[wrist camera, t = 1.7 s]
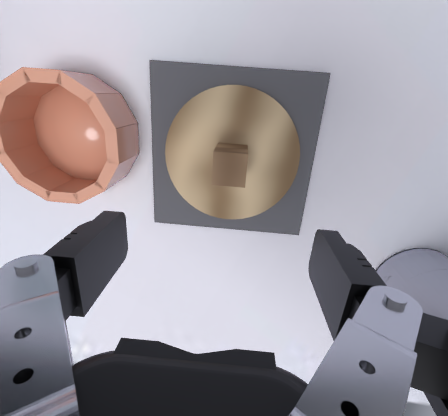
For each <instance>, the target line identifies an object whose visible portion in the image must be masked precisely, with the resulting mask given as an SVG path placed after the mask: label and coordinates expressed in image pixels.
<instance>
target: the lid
mask: <svg viewBox="0 0 448 416" xmlns="http://www.w3.org/2000/svg"><path fill="white" fill-rule="evenodd" d="M165 157H166V165H167V170H168V173H169V175H170V178H171V180H172V182H173V184H174V186H175V188H176V189H177V191H178V192H179V193H180V195H181V196H182V197H183V198H184V199H185V200H186V201H187V202H188V203H189V204H190V205H192V206H193V207H195V208H196V209H198V210H199V211H201V212H203V213H205V214H208V215H210V216H213V217H217V218H222V219H244V218H248V217H252V216H255V215H258V214H260V213H262V212H264V211H266V210H268V209H269V208H271V207H272V206H274V205H275V204H276V203H277V202H279V201H280V200H281V198H282V197H283V196H284V195H285V194H286V193H287V191H288V190H289V188H290V187H291V185H292V183H293V181H294V179H295V176H296V174H297V171H298V166H299V160H300V144H299V138H298V134H297V131H296V128H295V125H294V123H293V121H292V119H291V118H290V116H289V115H288V113H287V112H286V110H285V109H284V108H283V107H282V106H281V105H280V104H279V103H278V102H277V101H276V100H275V99H274V98H272V97H271V96H269V95H267V94H266V93H264V92H262V91H260V90H257V89H255V88H251V87H248V86H242V85H223V86H217V87H214V88H210V89H208V90H205V91H203V92H201V93H199V94H198V95H196V96H195V97H193V98H192V99H190V100H189V101H188V102H187V103H186V104H185V105H184V106H183V107H182V108H181V109H180V110H179V112H178V113H177V115H176V116H175V118H174V120H173V122H172V124H171V126H170V128H169V131H168V135H167V139H166V146H165Z"/></svg>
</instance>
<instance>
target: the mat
mask: <svg viewBox="0 0 448 416" xmlns="http://www.w3.org/2000/svg"><path fill="white" fill-rule="evenodd" d="M329 78H330V73H322V72H308V71H294V70H280V69H266V68H252V67H238V66H225V65H211V64H197V63H183V62H169V61H155V60H150V91H151V123H152V155H153V187H154V220H155V222H159V223H170V224H181V225H192V226H203V227H215V228H226V229H237V230H248V231H260V232H271V233H282V234H293V235H299V231H300V226H301V221H302V216H303V211H304V206H305V201H306V196H307V190H308V185H309V180H310V175H311V170H312V165H313V160H314V155H315V150H316V145H317V139H318V134H319V129H320V124H321V119H322V114H323V109H324V104H325V99H326V94H327V89H328V83H329ZM223 85H242V86H248V87H251V88H255V89H257V90H260V91H262V92H264V93H266V94H267V95H269V96H271V97H272V98H274V99H275V100H276V101H277V102H278V103H279V104H280V105H281V106H282V107H283V108H284V109H285V110H286V112H287V113H288V115H289V116H290V118H291V119H292V121H293V123H294V125H295V128H296V131H297V134H298V138H299V144H300V160H299V166H298V171H297V174H296V176H295V179H294V181H293V183H292V185H291V187H290V188H289V190H288V191H287V193H286V194H285V195H284V196H283V197H282V198H281V200H280V201H279V202H277V203H276V204H275V205H274V206H272V207H271V208H269V209H268V210H266V211H264V212H262V213H260V214H258V215H255V216H252V217H248V218H244V219H222V218H217V217H213V216H210V215H208V214H205V213H203V212H201V211H199V210H198V209H196V208H195V207H193V206H192V205H190V204H189V203H188V202H187V201H186V200H185V199H184V198H183V197H182V196H181V195H180V193H179V192H178V191H177V189H176V188H175V186H174V184H173V182H172V180H171V178H170V175H169V173H168V170H167V165H166V157H165V146H166V139H167V135H168V131H169V128H170V126H171V124H172V122H173V120H174V118H175V116H176V115H177V113H178V112H179V110H180V109H181V108H182V107H183V106H184V105H185V104H186V103H187V102H188V101H189V100H190V99H192V98H193V97H195V96H196V95H198V94H199V93H201V92H203V91H205V90H208V89H210V88H214V87H217V86H223Z"/></svg>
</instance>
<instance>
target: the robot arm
mask: <svg viewBox="0 0 448 416" xmlns="http://www.w3.org/2000/svg"><path fill="white" fill-rule="evenodd" d="M127 250H128V241H127V228H126V217H125V214H124V213H123V212H114V211H103V212H102V213H101V214H100V215H98V216H97V217H96V218H95V219H94V220H93V221H89V222H87V223H84V224H82V225H80V226H78V227H77V228H75V229H74V230H73V231H72V232H71V233H70V234H68V235H67V236H66V237H64V239H62V240H61V241H59V242H58V243H57V244H56V245H54V246H53V247H52V248H51V249H49V250H48V251H47V252H46V253H44V254H43V255H29V256H24V257H20V258H17V259H15V260H12V261H10V262H8V263H7V264H5V265H4V266H2V267H1V268H0V416H404V412H405V407H406V403H407V399H408V394H409V390H410V387H412V388H415V389H418V390H420V391H423V392H424V394H425V395H426V397H427V399H428V401H429V403H430V404H431V406H432V408H433V410H434V412H435V413H436V415H437V416H448V257H447V256H445V255H444V254H442V253H440V252H438V251H434V250H431V249H412V250H408V251H404V252H401V253H399V254H397V255H394V256H393V257H391V258H390V259H388V260H387V261H385V262H384V263H383V264H382V265H381V266H380V267H379V268H378V270H377V271H375V269H374V268H373V267H372V265H371V264H370V263H369V262H368V261H367V259H366V258H365V256H364V255H363V254H362V252H361V251H360V250H358V249H357V248H355V247H354V246H352V245H351V244H346V242H345V241H344V239H343V238H342V237H341V235H340V234H339V232H338V231H331V230H317V232H316V234H315V238H314V243H313V247H312V252H311V256H310V261H309V276H310V279H311V282H312V285H313V287H314V290H315V293H316V295H317V298H318V300H319V303H320V306H321V308H322V311H323V314H324V316H325V319H326V322H327V324H328V327H329V330H330V332H331V335H332V338H333V340H334V342H333V344H332V346H331V347H330V349H329V351H328V352H327V354H326V356H325V357H324V359H323V361H322V362H321V364H320V366H319V367H318V369H317V371H316V372H315V374H314V376H313V377H312V379H311V381H310V382H309V384H307V383H306V382H304V381H303V380H302V379H300V378H299V377H297V376H295V375H294V374H292V373H290V372H288V371H286V370H284V369H282V368H279V367H276V364H275V356H274V353H271V352H260V351H250V350H240V349H233V350H225V351H218V352H210V353H202V354H193V353H190V352H187V351H184V350H181V349H179V348H176V347H173V346H170V345H167V344H164V343H161V342H159V341H149V340H139V339H129V338H121V339H120V341H119V343H118V345H117V347H116V349H115V351H109V352H105V353H101V354H98V355H95V356H92V357H89V358H87V359H84V360H82V361H80V362H78V363H76V364H74V363H73V358H72V353H71V347H70V342H69V336H68V331H67V326H66V320H67V318H68V317H69V316H80V317H84V316H85V315H86V314H87V312H88V311H89V309H90V308H91V306H92V305H93V304H94V302H95V301H96V299H97V298H98V297H99V295H100V294H101V292H102V291H103V290H104V288H105V287H106V285H107V284H108V282H109V281H110V280H111V278H112V277H113V275H114V274H115V273H116V271H117V270H118V268H119V267H120V266H121V264H122V263H123V261H124V260H125V258H126V255H127Z"/></svg>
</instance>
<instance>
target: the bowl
mask: <svg viewBox="0 0 448 416" xmlns="http://www.w3.org/2000/svg"><path fill="white" fill-rule="evenodd" d="M138 154H139V139H138V123H137V121H136V119H135V117H134V116H133V114H132V112H131V110H130V109H129V107H128V105H127V103H126V102H125V100H124V98H123V96H122V95H121V93H119V92H118V91H116V90H115V89H113V88H112V87H110V86H109V85H107V84H106V83H104V82H103V81H101V80H100V79H99V78H97V77H96V76H94V75H92V74H85V73H78V72H71V71H64V70H54V69H40V68H26V67H22V68H20V69H19V70H17V71H16V72H14V73H13V74H11V75H10V76H8V77H7V78H5V79H4V80H2V81H1V82H0V162H1V163H2V165H3V166H4V167H5V169H6V170H7V171H8V172H9V174H10V175H11V176H12V177H13V179H14V180H15V181H16V183H17V184H19V185H21V186H22V187H24V188H26V189H28V190H29V191H31V192H33V193H35V194H36V195H38V196H40V197H42V198H43V199H45V200H47V201H53V202H64V203H76V204H80V203H82V202H84V201H86V200H88V199H90V198H92V197H94V196H96V195H98V194H100V193H102V192H104V191H105V190H107V189H108V188H110V187H111V186H113V185H114V184H116V183H117V182H118V181H120V180H121V179H123V178H124V177H126V176H127V174H128V172H129V171H130V169H131V167H132V165H133V163H134V161H135V160H136V158H137V156H138Z"/></svg>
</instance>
